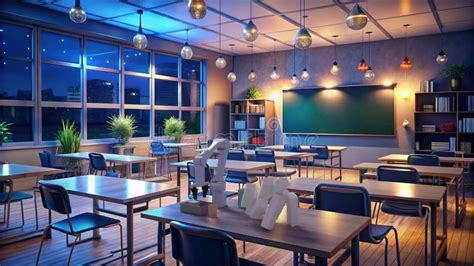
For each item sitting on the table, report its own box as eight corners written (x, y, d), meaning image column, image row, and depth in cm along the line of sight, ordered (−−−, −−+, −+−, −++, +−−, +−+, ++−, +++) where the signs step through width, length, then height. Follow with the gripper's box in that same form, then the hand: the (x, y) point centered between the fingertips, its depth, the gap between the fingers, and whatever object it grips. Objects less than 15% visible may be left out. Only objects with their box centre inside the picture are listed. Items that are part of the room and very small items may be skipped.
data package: (256, 209, 233) (256, 190, 233) (252, 210, 230) (252, 191, 229) (242, 206, 241) (242, 187, 240) (237, 207, 237) (237, 188, 237)
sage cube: (194, 208, 233) (194, 200, 233) (199, 209, 230) (199, 201, 230) (188, 209, 229) (188, 201, 229) (194, 211, 226) (193, 202, 226)
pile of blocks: (225, 232, 203) (226, 180, 185) (251, 201, 225) (255, 153, 208) (283, 259, 188) (291, 207, 170) (305, 224, 210) (314, 174, 193)
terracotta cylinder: (212, 215, 218) (212, 203, 218) (218, 216, 215) (218, 204, 215) (206, 216, 214) (206, 204, 214) (212, 218, 211) (212, 206, 211)
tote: (196, 207, 238) (196, 199, 238) (216, 211, 227) (216, 203, 227) (180, 211, 227) (180, 203, 227) (200, 215, 216) (200, 207, 216)
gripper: (195, 178, 215) (195, 201, 216) (213, 175, 227) (213, 197, 227) (187, 177, 220) (187, 199, 220) (204, 174, 231) (204, 196, 232)
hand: (199, 198), depth 224 cm, fingers open, 7 cm apart
